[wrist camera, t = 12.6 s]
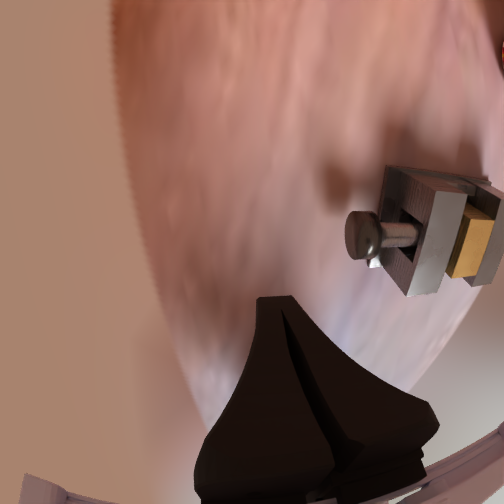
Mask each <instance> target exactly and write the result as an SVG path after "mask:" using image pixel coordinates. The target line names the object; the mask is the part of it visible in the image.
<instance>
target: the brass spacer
mask: <svg viewBox="0 0 504 504" xmlns="http://www.w3.org/2000/svg"><path fill="white" fill-rule="evenodd" d="M494 222H495V220H493V219H492V218H490V217H489V216H487V215H486V214H484V213H483V212H481V211H480V210H478V209H477V208H475V207H473V206H472V205H470V204H469V203H467V202H466V203H465V208H464V211H463V215H462V219H461V223H460V225H461V226H460V230H459V233H458V236H457V240H456V243H455V245H454V246H453V250H452V253H451V256H450V259H449V262H448V264H447V267H446V270H445V272H446V273H447V274H448V276H449V277H450V278H459V277H467V276H474V275H476V274H477V271H478V269H479V266H480V264H481V261H482V258H483V255H484V253H485V250H486V247H487V244H488V241H489V238H490V235H491V232H492V228H493V225H494Z"/></svg>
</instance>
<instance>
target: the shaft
mask: <svg viewBox="0 0 504 504" xmlns="http://www.w3.org/2000/svg"><path fill="white" fill-rule="evenodd" d="M460 226H461V225H460ZM460 226H459V230H460ZM422 227H423V224H422V223H387V222H380V221H379V218H378V216H377V215H376V214H375V213H374V212H372V211H352V212H351V213H350V214H349V215H348V217H347V220H346V225H345V243H346V248H347V251H348V254H349V255H350V257H351V258H352V259H354V260H358V259H373V258H375V257H376V256H377V255H378V253H379V251H380V249H381V247H407V246H418V242H419V239H420V235H421V231H422ZM459 230H458V233H459ZM458 233H457V236H458ZM456 240H457V237H456ZM456 240H455V243H456ZM455 243H454V245H455Z"/></svg>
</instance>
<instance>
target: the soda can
mask: <svg viewBox="0 0 504 504" xmlns="http://www.w3.org/2000/svg"><path fill="white" fill-rule="evenodd" d="M502 65H503V69H504V42H503V47H502Z"/></svg>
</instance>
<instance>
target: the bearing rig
mask: <svg viewBox="0 0 504 504" xmlns="http://www.w3.org/2000/svg"><path fill="white" fill-rule="evenodd" d="M491 183H492V182H490V181H488V180H483V179H477V178H472V177H466V176H461V175H455V174H449V173H442V172H436V171H429V170H421V169H414V168H405V167H397V166H387V165H386V169H385V176H384V182H383V189H382V195H381V201H380V206H379V212H378V218H379V221H380V222H387V223H422V224H423V227H422V231H421V235H420V239H419V242H418V246H407V247H381V249H380V251H379V253H378V255H377V256H376V257H375V258H373V259H369V260H368V264H367V265H368V267H369V268H374V267H383V268H384V269H385V270H386V272H387V273H388V274H389V275H390V277H391V278H392V279H393V280H394V282H395V283H396V284H397V285H398V287H399V288H400V289H401V291H402V292H403V293H404V295H405V296H406V297H409V296H416V295H423V294H430V293H437V291H438V289H439V286H440V284H441V281H442V278H443V276H444V273H445V270H446V267H447V264H448V262H449V259H450V256H451V253H452V250H453V246H454V243H455V240H456V237H457V233H458V230H459V226H460V223H461V219H462V215H463V211H464V208H465V203H466V202H467V203H469V204H470V205H472V206H473V207H475V208H477V209H478V210H480V211H481V212H483V213H484V214H486V215H487V216H489V217H490V218H492V219H493V220H495V222H494V225H493V228H492V232H491V235H490V238H489V241H488V244H487V247H486V250H485V253H484V255H483V258H482V261H481V264H480V266H479V269H478V271H477V274H476V275H474V276H467V277H462V278H463V279H464V280H465V281H466V282H467V283H468V284H469V285H470V286H471V287H474V286H480V285H485V284H491V283H492V281H493V278H494V276H495V274H496V271H497V269H498V266H499V264H500V261H501V258H502V256H503V253H504V193H503V192H502V191H500V190H498V189H496V188H494V187H492V186H491Z"/></svg>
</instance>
